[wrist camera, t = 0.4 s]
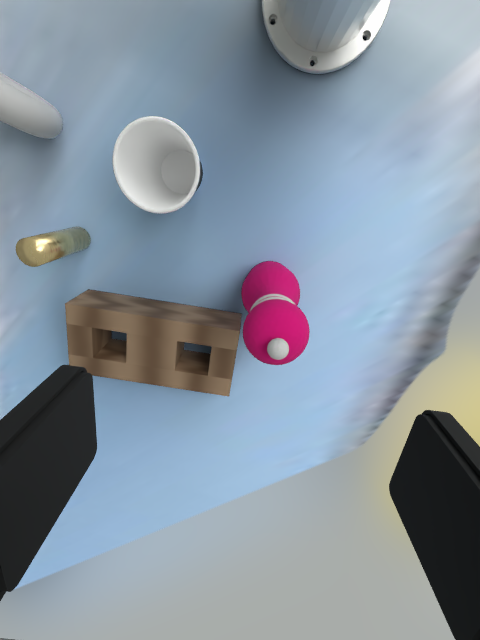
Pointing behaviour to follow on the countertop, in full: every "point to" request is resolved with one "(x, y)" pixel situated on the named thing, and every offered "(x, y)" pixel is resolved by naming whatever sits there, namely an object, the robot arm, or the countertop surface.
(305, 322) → the pepper mill
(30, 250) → the brass peg
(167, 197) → the dixie cup
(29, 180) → the countertop surface
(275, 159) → the countertop surface
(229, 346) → the hole block
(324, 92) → the countertop surface
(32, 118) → the donut
